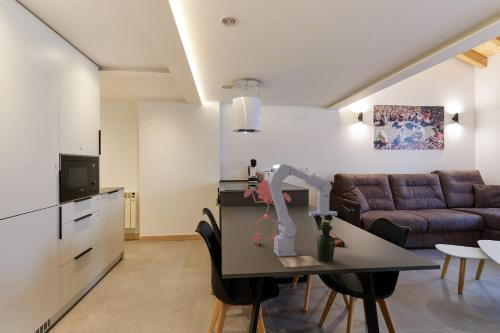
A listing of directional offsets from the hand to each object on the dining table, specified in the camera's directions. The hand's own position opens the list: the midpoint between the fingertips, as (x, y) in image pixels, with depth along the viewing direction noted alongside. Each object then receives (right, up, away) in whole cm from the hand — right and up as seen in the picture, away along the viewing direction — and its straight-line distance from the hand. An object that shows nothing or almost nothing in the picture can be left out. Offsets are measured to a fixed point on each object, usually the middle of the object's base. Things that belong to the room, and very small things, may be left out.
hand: (322, 229), depth 135 cm
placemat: (-15, -11, -16) cm, 25 cm away
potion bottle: (-3, -11, -14) cm, 18 cm away
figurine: (-28, -10, +12) cm, 32 cm away
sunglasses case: (+9, -11, +14) cm, 20 cm away
